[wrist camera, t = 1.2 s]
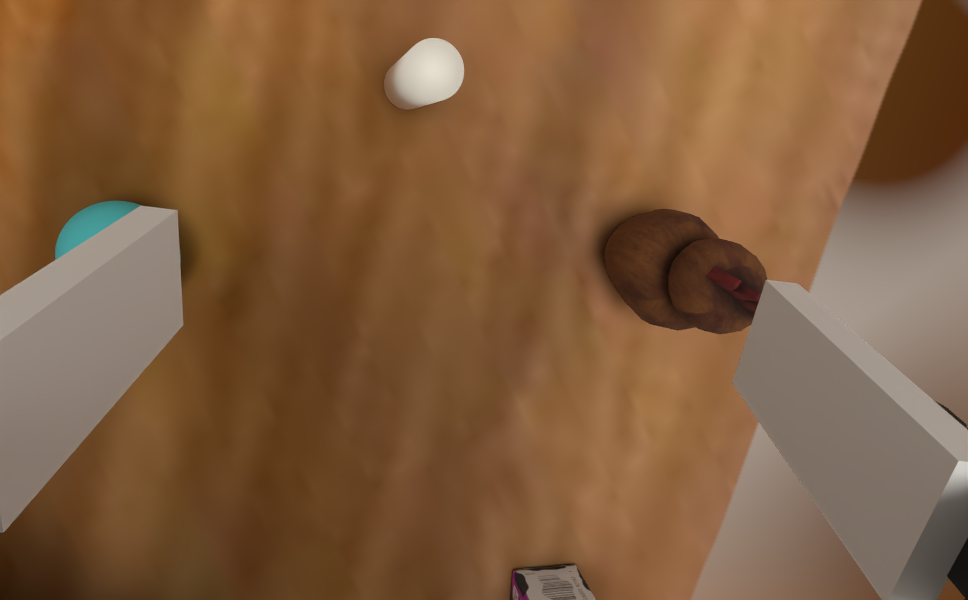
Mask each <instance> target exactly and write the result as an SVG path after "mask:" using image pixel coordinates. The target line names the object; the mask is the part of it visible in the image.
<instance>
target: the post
mask: <svg viewBox="0 0 968 600" xmlns="http://www.w3.org/2000/svg"><path fill="white" fill-rule="evenodd" d="M463 77H464V65H463V61H462V58H461V56H460V54H459V52H458V51H457V50H456V48H455V47H454V46H453V45H451V44H450V43H449V42H447V41H445V40H442V39H438V38H429V39H425V40H422V41H420V42H418V43H417V44H416V45H415V46H413V47H412V48H411V49H410V50H409V51H408V52H407V53H406V54H405V55H404V56H402V57H401V58H400V59H399V60H398V61H397V62H396V63H395V64H394V65H393V66H392V67H390V69H389V70H388V71H387V73H386V75H385V78H384V91H385V94H386V96H387V98H388V100H389V101H390V102H391V103H392V104H393V105H394V106H396V107H398V108H400V109H404V110H412V109H416V108H419V107H422V106H425V105H429V104H432V103H435V102H439V101H442V100H445V99H447V98H449V97H451V96H452V95H454V94H455V93H456V92H457V90H458V89H459V87H460V86H461V84H462V81H463Z"/></svg>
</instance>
